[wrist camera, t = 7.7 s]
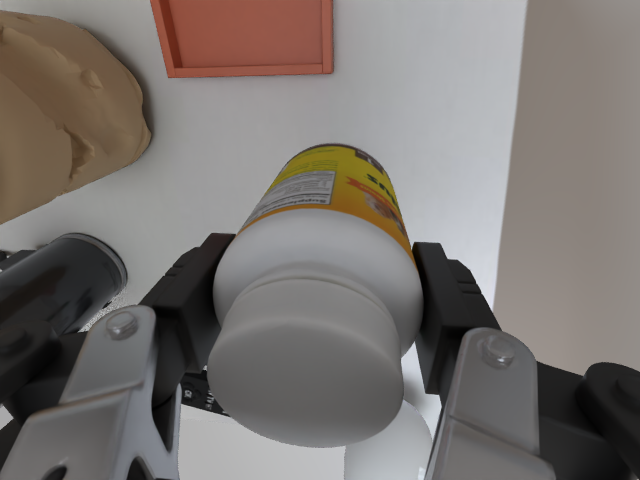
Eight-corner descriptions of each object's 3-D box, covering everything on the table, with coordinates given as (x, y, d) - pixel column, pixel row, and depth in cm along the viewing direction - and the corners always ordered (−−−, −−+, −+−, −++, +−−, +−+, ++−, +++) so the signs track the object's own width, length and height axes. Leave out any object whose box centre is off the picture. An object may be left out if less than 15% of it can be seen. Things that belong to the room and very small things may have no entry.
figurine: (417, 368, 43) (443, 500, 30) (428, 417, 48) (454, 549, 35) (338, 376, 46) (330, 502, 33) (356, 422, 51) (356, 547, 38)
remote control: (265, 416, 53) (262, 428, 51) (72, 364, 51) (62, 375, 49) (274, 390, 49) (271, 402, 47) (66, 332, 47) (55, 342, 45)
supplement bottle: (402, 237, 16) (461, 466, 7) (296, 257, 17) (231, 474, 8) (381, 122, 13) (432, 253, 4) (259, 155, 14) (105, 310, 6)
